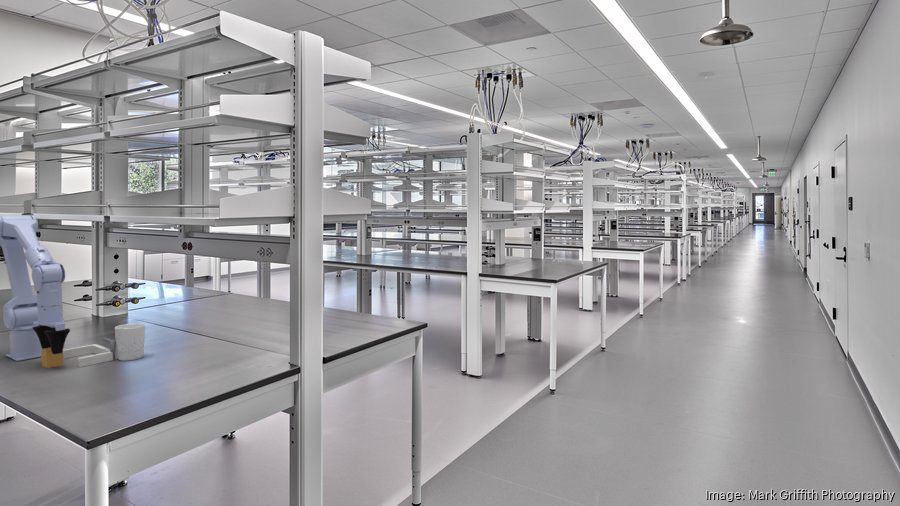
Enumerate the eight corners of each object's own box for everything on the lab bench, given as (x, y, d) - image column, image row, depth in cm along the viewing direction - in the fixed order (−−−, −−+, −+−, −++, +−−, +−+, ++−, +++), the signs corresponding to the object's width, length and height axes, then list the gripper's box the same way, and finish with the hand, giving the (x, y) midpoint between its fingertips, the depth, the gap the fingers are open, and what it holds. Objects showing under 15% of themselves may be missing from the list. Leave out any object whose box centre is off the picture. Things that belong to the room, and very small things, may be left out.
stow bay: (59, 358, 154) (58, 339, 153) (96, 351, 162) (95, 333, 161) (79, 367, 146) (78, 347, 145) (116, 359, 154) (116, 340, 153)
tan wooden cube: (41, 365, 147) (40, 349, 146) (58, 362, 150) (57, 346, 149) (47, 368, 144) (46, 351, 144) (63, 365, 148) (62, 348, 147)
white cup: (148, 353, 161) (147, 322, 160) (142, 360, 154) (142, 328, 153) (119, 355, 158) (118, 324, 157) (112, 362, 151) (111, 329, 150)
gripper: (23, 304, 146) (26, 350, 147) (42, 310, 138) (44, 358, 139) (53, 301, 152) (55, 345, 153) (72, 306, 144) (74, 353, 145)
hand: (52, 351), depth 147 cm, fingers open, 7 cm apart
